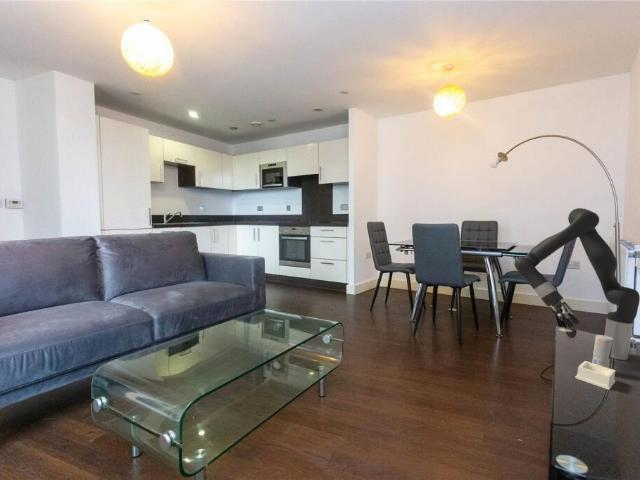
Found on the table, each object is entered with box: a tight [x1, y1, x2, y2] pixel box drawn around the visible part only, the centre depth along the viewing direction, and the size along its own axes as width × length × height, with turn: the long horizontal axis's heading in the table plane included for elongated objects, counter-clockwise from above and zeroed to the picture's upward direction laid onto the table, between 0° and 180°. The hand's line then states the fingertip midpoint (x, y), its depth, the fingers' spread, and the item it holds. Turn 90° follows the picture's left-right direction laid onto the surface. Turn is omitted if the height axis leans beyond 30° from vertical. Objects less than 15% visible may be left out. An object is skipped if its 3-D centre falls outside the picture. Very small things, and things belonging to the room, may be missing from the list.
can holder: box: [574, 360, 616, 390], centre depth 132 cm, size 10×10×5 cm
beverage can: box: [591, 334, 613, 369], centre depth 140 cm, size 6×6×15 cm
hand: (575, 325), depth 147 cm, fingers open, 8 cm apart
